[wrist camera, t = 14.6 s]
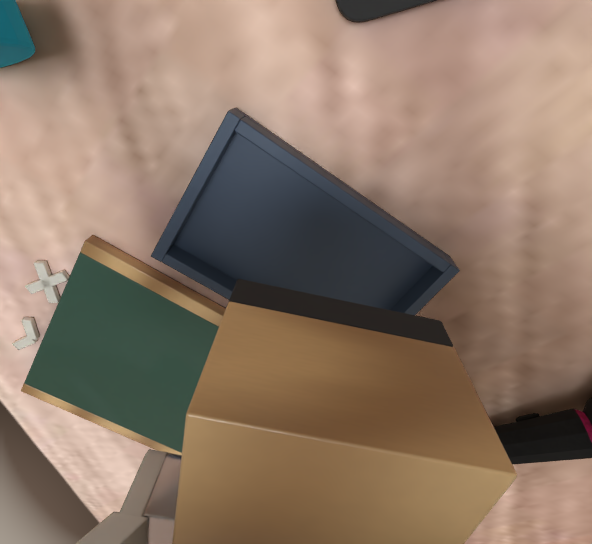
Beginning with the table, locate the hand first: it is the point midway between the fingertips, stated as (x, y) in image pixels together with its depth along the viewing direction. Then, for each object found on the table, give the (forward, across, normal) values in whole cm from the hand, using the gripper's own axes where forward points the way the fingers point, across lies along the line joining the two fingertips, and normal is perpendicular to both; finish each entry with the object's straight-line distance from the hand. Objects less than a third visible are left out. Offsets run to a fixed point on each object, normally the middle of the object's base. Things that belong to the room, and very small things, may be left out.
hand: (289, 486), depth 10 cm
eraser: (+1, 0, 0) cm, 1 cm away
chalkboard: (+16, +6, +14) cm, 22 cm away
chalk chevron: (+16, +19, +12) cm, 27 cm away
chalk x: (+16, +17, +7) cm, 24 cm away
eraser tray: (+16, 0, 0) cm, 16 cm away
